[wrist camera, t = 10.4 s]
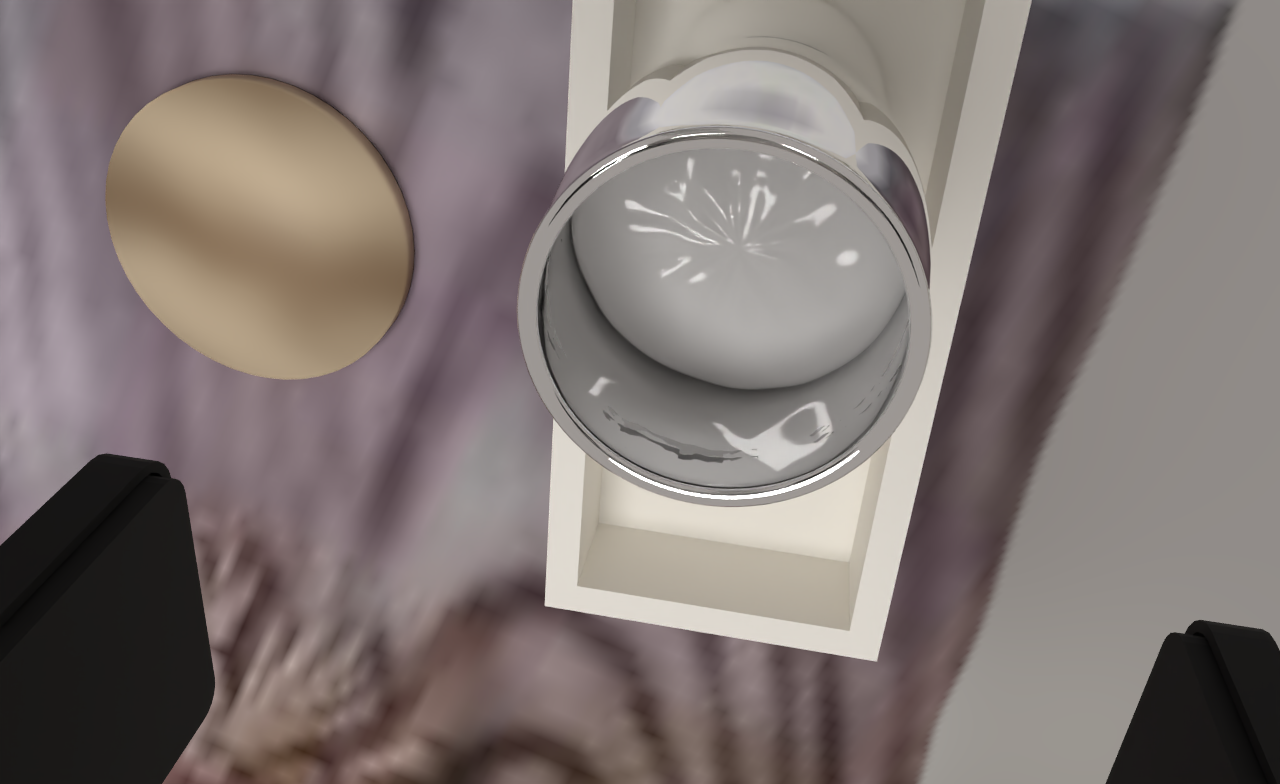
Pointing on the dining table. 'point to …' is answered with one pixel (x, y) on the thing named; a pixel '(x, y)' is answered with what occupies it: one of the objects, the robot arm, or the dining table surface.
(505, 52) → the dining table surface
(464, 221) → the dining table surface
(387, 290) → the cork trivet
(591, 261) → the beer glass
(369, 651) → the dining table surface
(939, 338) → the cream divided tray
